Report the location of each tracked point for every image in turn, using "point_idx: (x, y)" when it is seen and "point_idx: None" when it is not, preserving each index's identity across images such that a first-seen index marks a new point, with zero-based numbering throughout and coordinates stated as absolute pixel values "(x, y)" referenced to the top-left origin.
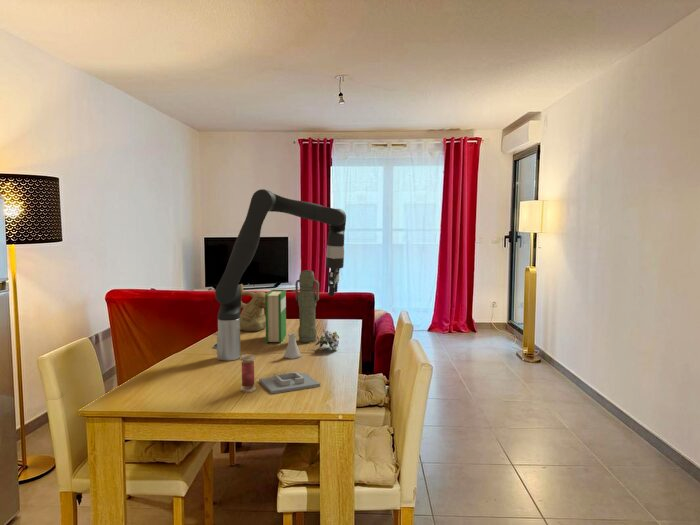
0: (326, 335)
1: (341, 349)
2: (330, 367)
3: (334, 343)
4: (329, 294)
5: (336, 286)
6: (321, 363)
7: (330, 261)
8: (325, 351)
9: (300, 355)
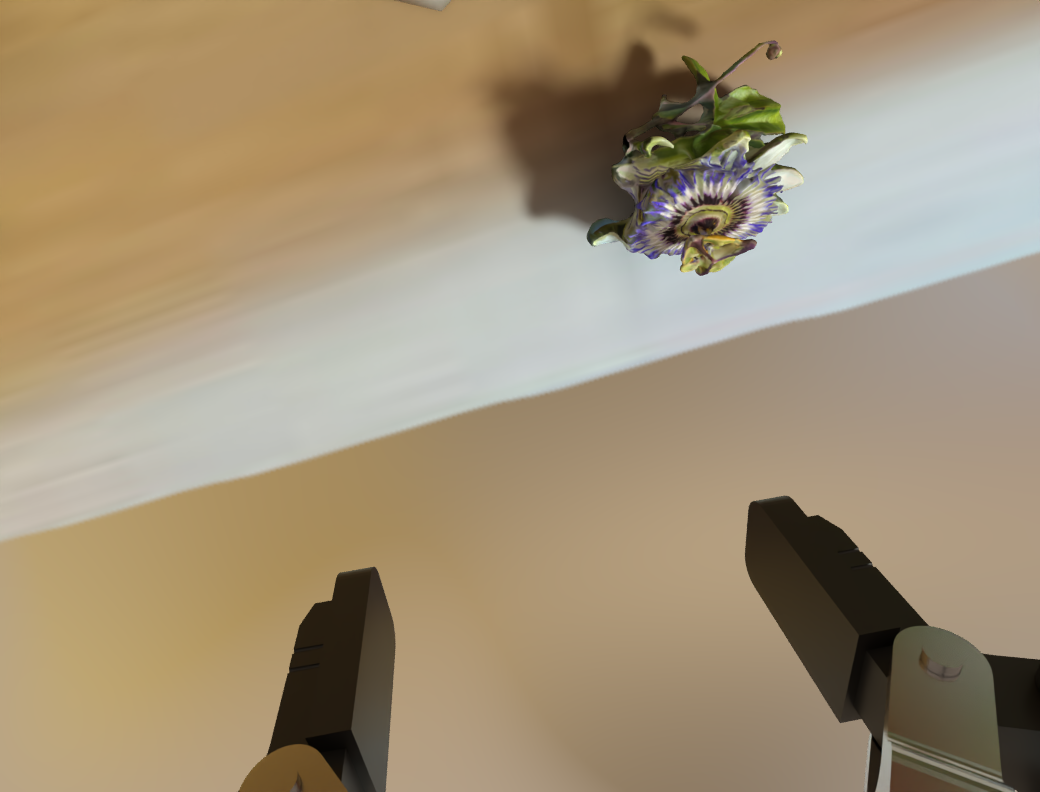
0: (663, 185)
1: None
2: (253, 329)
3: (634, 249)
4: (309, 612)
5: (806, 657)
6: (320, 239)
7: None
8: None
9: (434, 4)
